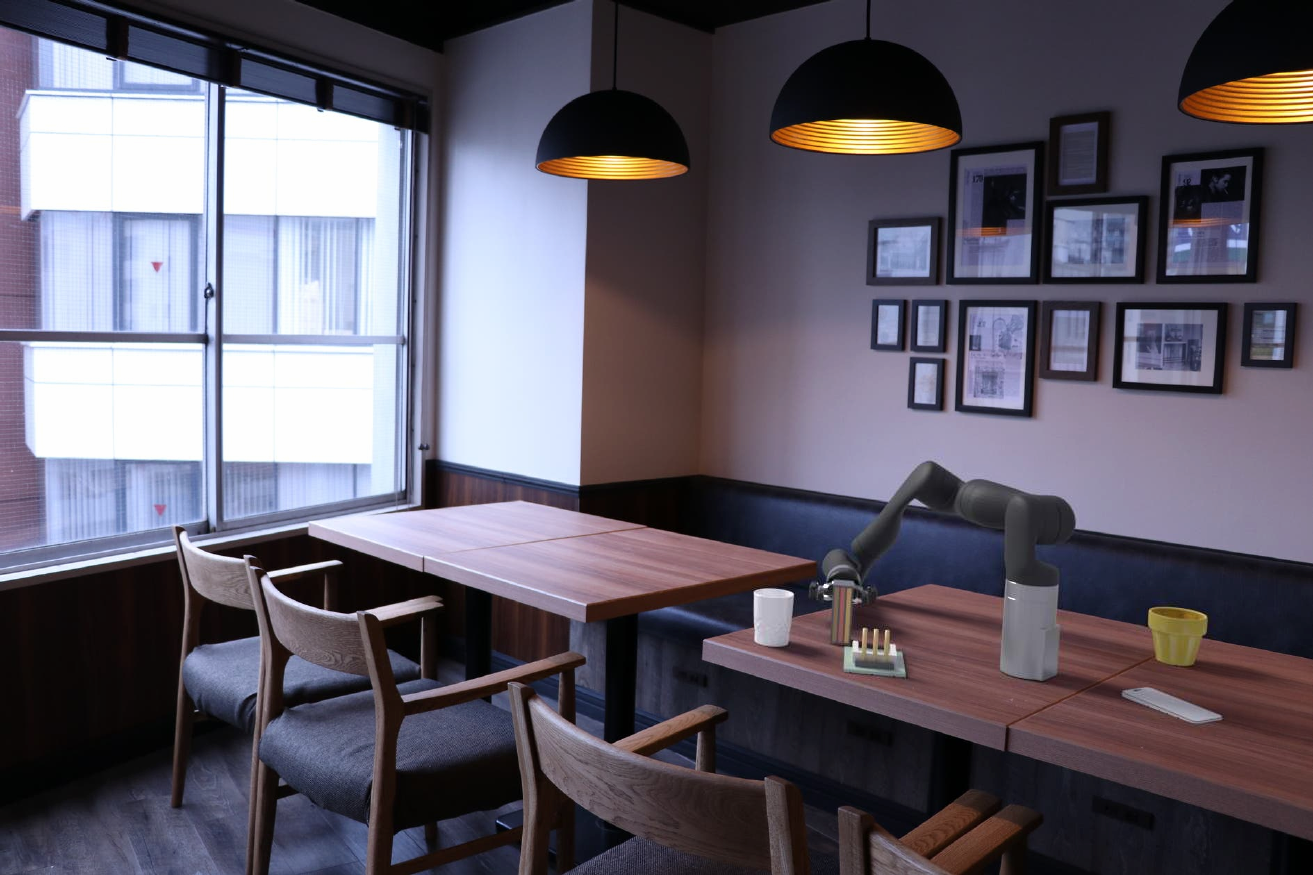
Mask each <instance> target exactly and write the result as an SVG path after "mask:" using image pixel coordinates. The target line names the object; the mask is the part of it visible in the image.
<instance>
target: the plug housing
mask: <svg viewBox="0 0 1313 875" xmlns="http://www.w3.org/2000/svg"><path fill="white" fill-rule="evenodd" d="M853 588H854V581H845V580H834V581H833V597H832V600H831V601H832V603H831V619H830V635H829V636H830V637H829V644H830V645H837V646H838V645H839V646H847V647H851V636H852V624H853V623H852V622H853V620H852V619H853V605H854V604H853V603H854V602H853Z"/></svg>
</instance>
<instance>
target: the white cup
mask: <svg viewBox="0 0 1313 875" xmlns="http://www.w3.org/2000/svg"><path fill="white" fill-rule="evenodd" d="M794 597H795V594H794V593H793V592H792V591H789V590H786V589H778V588H760V589H756V590H754V591H753V625H754V626H753V627H754V642H755V643H756V644H758V645H761V646H764V647H772V648H775V647H776V648H777V647H785V646H787V645H788V644H789V641H790V632H791V627H792V626H791V625H792V619H793V610H794V608H793V607H794V599H795V598H794Z"/></svg>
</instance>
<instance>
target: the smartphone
mask: <svg viewBox="0 0 1313 875" xmlns="http://www.w3.org/2000/svg"><path fill="white" fill-rule="evenodd" d="M1121 696H1122V697H1123V698H1124V699H1125V698H1126V699H1128V700H1131V701H1133V702H1135V703H1138V704H1141V705H1143V706H1147V707H1148V706H1149V708H1152V709H1154V710H1156V711H1159V710H1160V711H1159V712H1162V713H1165V714H1167V713H1168V715H1170V716H1172V717H1175V718H1177V717H1179V718H1178V719H1181V720H1182V721H1186V722H1187V723H1191V724H1207V723H1210V722H1218V721H1222V720H1223V716H1222V715H1221V714H1219V713H1216V712H1213V711H1211V710H1209V709H1206V708H1203V707H1200V706H1198V705H1195V704H1194V703H1190V702H1188V701H1185V700H1183V699H1181V698H1178V697H1176V696H1172V695H1171V694H1168V693H1165V692H1162V691H1160V690H1159V689H1158V690H1157V689H1155V688H1152V687H1147V686H1146V687H1145V686H1144V687H1137V688H1131V689H1130V688H1129V689H1124V690H1122V691H1121Z"/></svg>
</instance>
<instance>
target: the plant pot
mask: <svg viewBox="0 0 1313 875" xmlns="http://www.w3.org/2000/svg"><path fill="white" fill-rule="evenodd" d="M1147 618H1148V619H1147V620H1148V621H1147V623H1148V627H1149V628H1150V629H1151V633H1152V634H1151V635H1152V638H1153V645H1154V651H1155V652H1154V653H1155V658H1156V660H1157V661H1158V662H1160V663H1162V664H1165V665H1170V666H1175V665H1177V667H1191V666H1192V665H1194V664H1195V661H1196V657H1197V655H1198V650H1199V648H1200V645H1201V642H1202V638H1203V636H1205V635H1206V634H1207V629H1208V622H1209V621H1208V619H1209V618H1208V615H1207V614H1204V613H1202V612H1199V611H1196V610H1192V609H1188V608H1186V609H1185V608H1180V607H1171V606H1161V607H1160V606H1157V607H1152V608H1149V610H1148V616H1147ZM1190 665H1191V666H1190Z"/></svg>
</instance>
